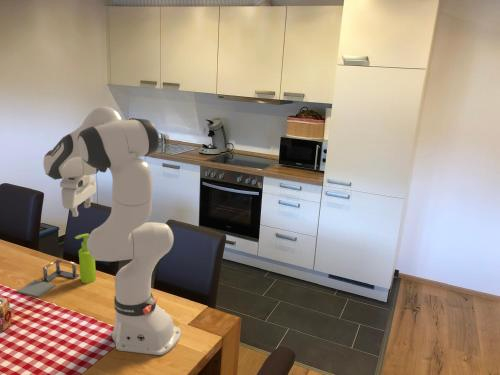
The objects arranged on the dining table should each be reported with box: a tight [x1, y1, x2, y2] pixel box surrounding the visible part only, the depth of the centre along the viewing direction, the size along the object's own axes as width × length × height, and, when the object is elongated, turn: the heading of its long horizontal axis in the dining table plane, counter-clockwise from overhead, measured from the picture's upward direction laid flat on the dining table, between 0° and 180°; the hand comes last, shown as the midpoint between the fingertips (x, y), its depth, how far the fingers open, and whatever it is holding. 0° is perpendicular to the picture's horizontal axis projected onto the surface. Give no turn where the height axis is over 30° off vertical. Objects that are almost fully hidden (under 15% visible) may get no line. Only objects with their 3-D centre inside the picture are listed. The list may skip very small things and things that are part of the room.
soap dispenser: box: [74, 233, 97, 284], centre depth 167 cm, size 6×7×20 cm
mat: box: [16, 279, 57, 299], centre depth 161 cm, size 10×9×1 cm
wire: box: [41, 259, 80, 283], centre depth 169 cm, size 10×9×6 cm
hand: (81, 211), depth 161 cm, fingers open, 8 cm apart
